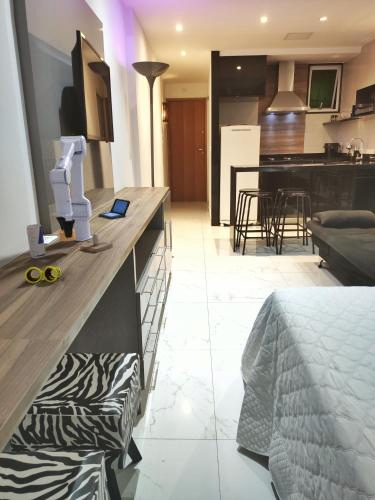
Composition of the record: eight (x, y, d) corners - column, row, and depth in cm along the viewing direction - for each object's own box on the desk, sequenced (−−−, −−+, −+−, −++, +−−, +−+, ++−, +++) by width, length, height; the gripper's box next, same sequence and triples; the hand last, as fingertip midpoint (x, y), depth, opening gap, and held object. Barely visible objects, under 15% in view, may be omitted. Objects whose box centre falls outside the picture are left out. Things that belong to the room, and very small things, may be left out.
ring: (57, 240, 141) (56, 231, 140) (68, 237, 146) (67, 228, 145) (67, 241, 138) (65, 233, 137) (78, 238, 143) (77, 229, 142)
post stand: (80, 249, 145) (78, 234, 144) (96, 244, 153) (95, 230, 151) (96, 252, 141) (95, 237, 139) (112, 246, 148) (111, 232, 146)
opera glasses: (62, 279, 116) (61, 264, 116) (57, 282, 111) (56, 266, 110) (31, 281, 115) (29, 265, 115) (25, 284, 110) (23, 268, 110)
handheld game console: (97, 216, 214) (96, 201, 212) (117, 213, 223) (115, 198, 221) (112, 220, 203) (111, 203, 201) (132, 216, 212) (130, 200, 210)
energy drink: (49, 255, 139) (44, 224, 136) (39, 259, 135) (34, 227, 131) (37, 254, 141) (33, 223, 138) (27, 258, 136) (22, 226, 133)
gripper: (49, 199, 142) (53, 233, 146) (55, 204, 130) (60, 241, 134) (67, 198, 145) (71, 231, 149) (75, 202, 133) (79, 238, 137)
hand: (67, 235), depth 141 cm, fingers closed on ring, 6 cm apart
